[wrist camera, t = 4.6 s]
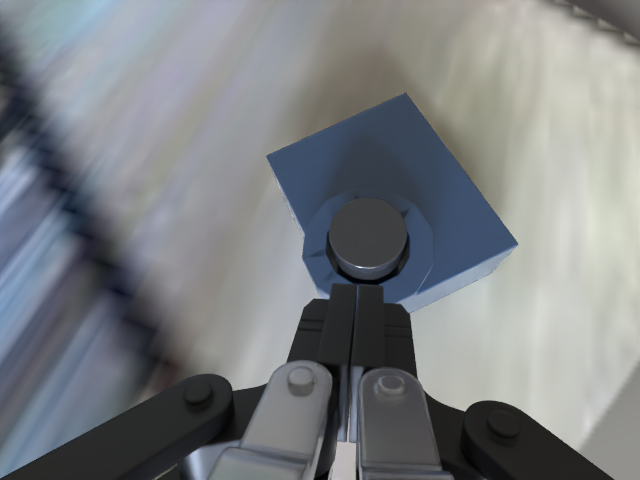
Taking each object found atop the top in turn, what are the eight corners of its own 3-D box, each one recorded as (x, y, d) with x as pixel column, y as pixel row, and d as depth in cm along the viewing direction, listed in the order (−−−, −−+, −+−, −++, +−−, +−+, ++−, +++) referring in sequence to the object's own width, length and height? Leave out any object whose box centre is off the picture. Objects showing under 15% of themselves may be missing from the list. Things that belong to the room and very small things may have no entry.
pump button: (320, 233, 21) (316, 216, 19) (381, 204, 21) (383, 185, 19) (351, 293, 20) (350, 281, 18) (416, 261, 20) (421, 246, 18)
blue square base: (272, 197, 30) (245, 140, 23) (400, 138, 30) (408, 67, 24) (345, 350, 25) (337, 332, 19) (494, 276, 26) (537, 233, 19)
